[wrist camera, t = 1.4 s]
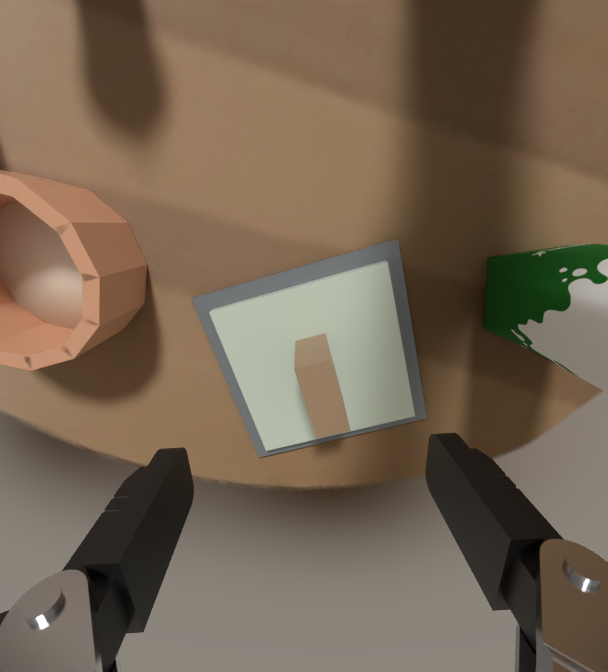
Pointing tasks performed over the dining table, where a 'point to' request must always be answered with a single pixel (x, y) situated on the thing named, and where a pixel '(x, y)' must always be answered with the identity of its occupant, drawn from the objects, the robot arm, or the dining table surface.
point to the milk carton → (554, 306)
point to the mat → (300, 276)
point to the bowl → (62, 271)
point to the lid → (319, 356)
